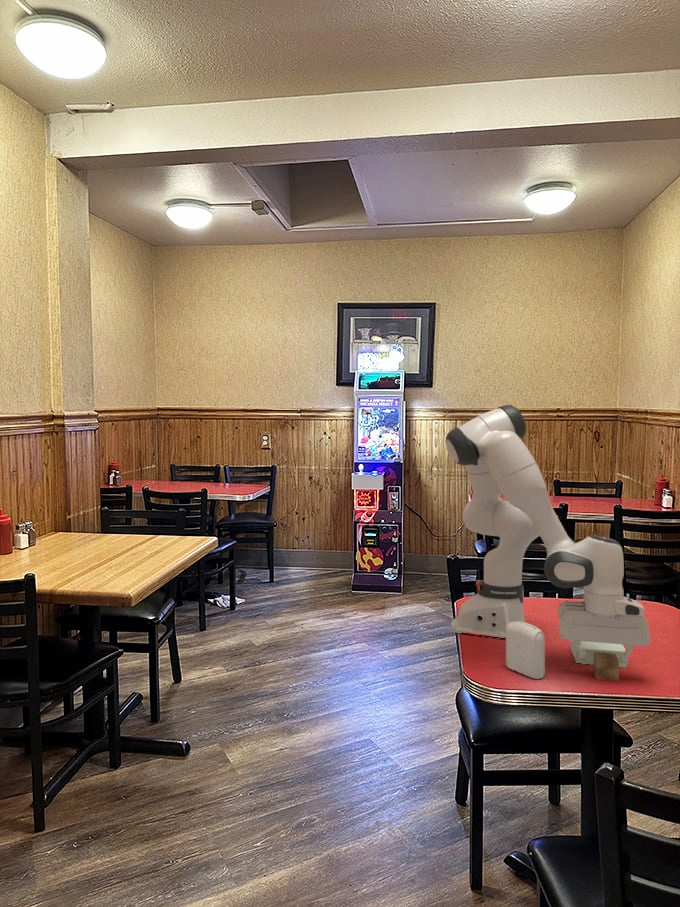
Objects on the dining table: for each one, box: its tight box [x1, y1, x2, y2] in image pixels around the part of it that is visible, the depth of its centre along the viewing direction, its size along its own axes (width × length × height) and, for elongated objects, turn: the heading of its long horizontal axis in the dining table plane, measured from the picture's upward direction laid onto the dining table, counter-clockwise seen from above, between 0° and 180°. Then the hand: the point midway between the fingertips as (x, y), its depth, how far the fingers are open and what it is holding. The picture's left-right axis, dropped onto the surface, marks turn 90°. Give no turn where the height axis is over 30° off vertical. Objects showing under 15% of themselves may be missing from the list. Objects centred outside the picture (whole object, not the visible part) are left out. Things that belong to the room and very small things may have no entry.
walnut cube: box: [592, 652, 620, 682], centre depth 154 cm, size 5×5×5 cm
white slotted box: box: [505, 621, 546, 680], centre depth 156 cm, size 10×4×12 cm, turn 32°
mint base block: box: [570, 640, 628, 669], centre depth 167 cm, size 12×12×4 cm
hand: (602, 660), depth 153 cm, fingers open, 8 cm apart
